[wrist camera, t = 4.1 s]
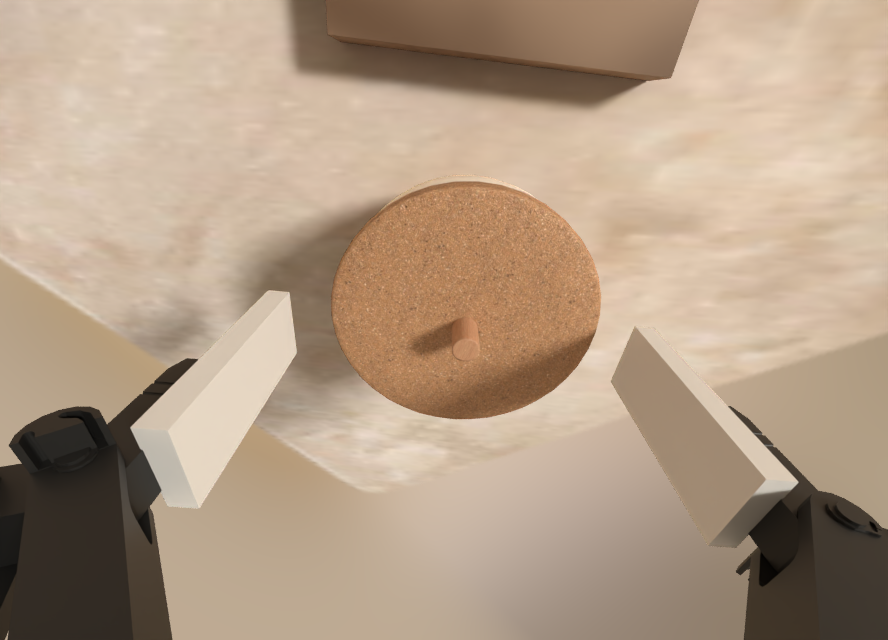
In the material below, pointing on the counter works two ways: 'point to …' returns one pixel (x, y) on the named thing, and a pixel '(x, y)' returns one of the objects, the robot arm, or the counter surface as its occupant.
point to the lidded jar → (465, 299)
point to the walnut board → (526, 31)
